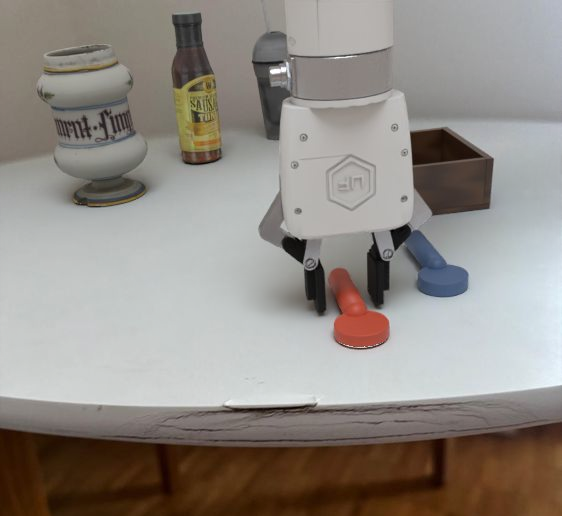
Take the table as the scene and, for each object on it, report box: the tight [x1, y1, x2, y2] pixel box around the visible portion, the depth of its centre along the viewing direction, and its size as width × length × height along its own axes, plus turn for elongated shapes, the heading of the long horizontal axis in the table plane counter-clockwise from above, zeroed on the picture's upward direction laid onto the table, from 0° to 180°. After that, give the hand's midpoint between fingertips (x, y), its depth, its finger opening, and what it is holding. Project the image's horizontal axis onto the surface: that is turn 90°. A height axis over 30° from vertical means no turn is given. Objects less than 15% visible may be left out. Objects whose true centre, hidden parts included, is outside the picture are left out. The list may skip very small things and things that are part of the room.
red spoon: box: [327, 267, 390, 347], centre depth 59 cm, size 12×4×2 cm, turn 7°
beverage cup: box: [251, 0, 291, 141], centre depth 108 cm, size 7×7×20 cm
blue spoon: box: [403, 229, 470, 298], centre depth 65 cm, size 12×4×2 cm, turn 7°
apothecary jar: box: [36, 43, 149, 207], centre depth 89 cm, size 12×12×18 cm
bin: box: [410, 126, 495, 216], centre depth 83 cm, size 13×16×6 cm
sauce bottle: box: [170, 11, 222, 164], centre depth 100 cm, size 7×6×20 cm
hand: (347, 300), depth 60 cm, fingers open, 4 cm apart
